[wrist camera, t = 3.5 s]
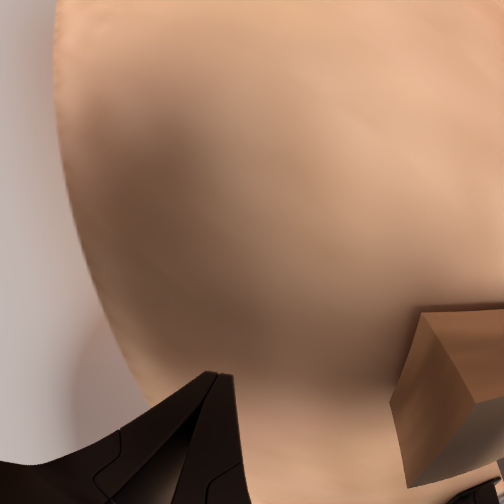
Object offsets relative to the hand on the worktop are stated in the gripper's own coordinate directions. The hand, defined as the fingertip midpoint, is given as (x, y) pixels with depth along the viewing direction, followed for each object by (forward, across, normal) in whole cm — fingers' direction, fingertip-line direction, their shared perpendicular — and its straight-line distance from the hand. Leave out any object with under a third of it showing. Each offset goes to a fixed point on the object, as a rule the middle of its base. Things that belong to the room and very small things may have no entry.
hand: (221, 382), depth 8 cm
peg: (+1, -11, 0) cm, 11 cm away
